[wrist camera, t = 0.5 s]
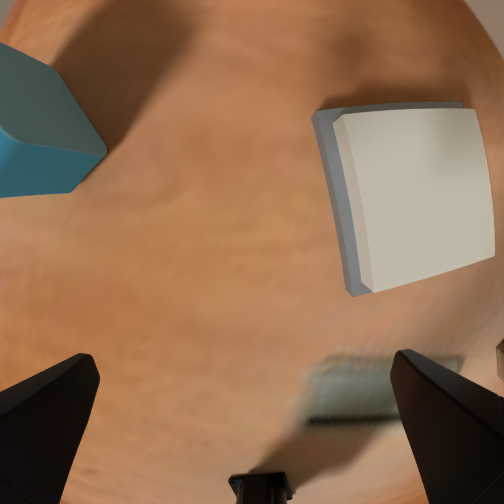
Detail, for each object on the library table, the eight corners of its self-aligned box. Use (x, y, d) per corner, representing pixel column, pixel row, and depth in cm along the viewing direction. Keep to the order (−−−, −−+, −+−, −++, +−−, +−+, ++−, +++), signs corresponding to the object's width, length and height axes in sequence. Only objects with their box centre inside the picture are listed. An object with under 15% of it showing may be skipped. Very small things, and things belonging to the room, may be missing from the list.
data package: (26, 104, 20) (-64, 81, 8) (56, 69, 19) (-31, 27, 7) (78, 194, 21) (-35, 204, 9) (114, 155, 21) (3, 135, 9)
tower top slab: (476, 249, 19) (494, 255, 17) (361, 281, 20) (373, 292, 18) (456, 114, 17) (474, 109, 15) (332, 123, 18) (342, 114, 16)
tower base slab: (469, 250, 22) (486, 256, 20) (343, 286, 23) (352, 296, 20) (446, 107, 20) (462, 101, 17) (309, 119, 20) (315, 111, 18)
